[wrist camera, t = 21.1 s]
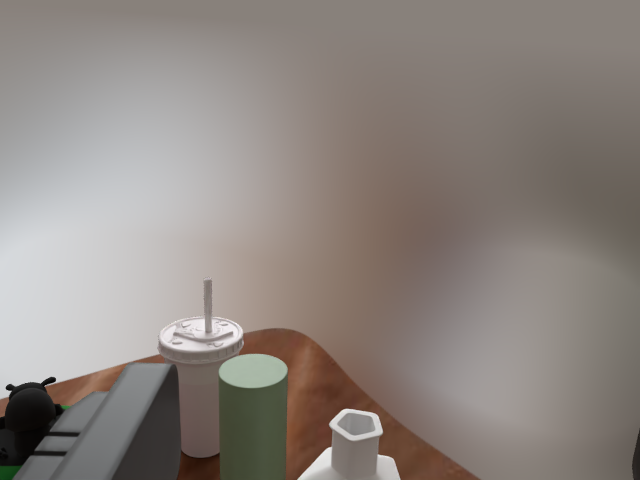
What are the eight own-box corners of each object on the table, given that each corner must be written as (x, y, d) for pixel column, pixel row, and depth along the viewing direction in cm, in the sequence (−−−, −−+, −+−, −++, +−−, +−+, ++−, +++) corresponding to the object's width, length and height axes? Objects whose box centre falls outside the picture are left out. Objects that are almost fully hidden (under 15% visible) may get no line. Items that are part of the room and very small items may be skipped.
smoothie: (240, 469, 42) (239, 295, 38) (153, 469, 41) (144, 293, 37) (247, 419, 48) (247, 265, 44) (171, 419, 47) (165, 264, 44)
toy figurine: (89, 394, 51) (84, 336, 49) (112, 457, 42) (106, 390, 41) (-40, 425, 46) (-51, 361, 44) (-44, 503, 37) (-56, 428, 36)
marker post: (250, 602, 31) (250, 414, 28) (180, 541, 35) (173, 370, 32) (323, 535, 36) (330, 369, 33) (255, 488, 40) (255, 335, 36)
